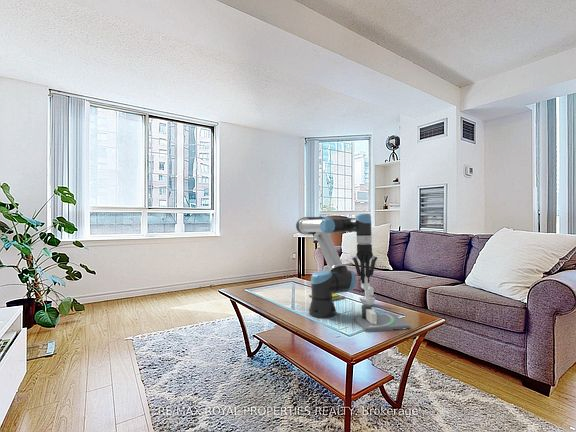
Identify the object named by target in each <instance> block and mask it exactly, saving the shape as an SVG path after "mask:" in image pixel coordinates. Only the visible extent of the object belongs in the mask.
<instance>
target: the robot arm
mask: <svg viewBox="0 0 576 432" xmlns="http://www.w3.org/2000/svg"><path fill="white" fill-rule="evenodd" d="M295 228H296V231H297V232H298V233H299V234H301V235H304V236H305V235H307V236H308V235H310V236H311V235H312V236H313V239H314V240H316V241H317V243H318V246H319V248H320V250H321V252H322V255H323V257H324V260H325V262H326V264H327V267H328V270H327V269H326V270H318V271H315V272H313V273H312V274H311V276H310V277H311V278H310V283H311V285H310V286H311V294H312V297H311V302H310V305H309V307H308V314H309V316H311V315H312V316H311V317H315V318H333V317H334V316H336V315H337V309H336V305H335V303H334V300H333V299H332V294H333V293H335V294H340V293H341V294H342V293H347V292H351V291H354V289H355V288H356V284H357V279H356V278H357V277H356V274H357V276H358V277H360V283H361V282H362V283H363V289H362V290H364V291H365V290H368V283H370V278H371V277H372V276H374V272H375V271H374V270H375V266H376V261H377V260H378V256H375V255H374V253H373V244H372V243H373V238H372V237H373V236H372V216H371V214H370V213H357V214H356V215H355V217H341V218H339V217H337V218H332V217H331V218H328V217H326V216H321V215H319V216H304V217H300V218H299V219H298V220H297V221H296V223H295ZM331 233H332V234H333V233H334V234H335V233H356V243H357V244H356V254H355V256H353V257H352V258H351V260H352V261H353V263H354V267H355V271H356V274H355V272H354V271H353V270H349V269H348V267H347V265H345V264H343V262H342V260H341V258H340V255H339V253H338V251H337V249H336V246H335V243H334V242H333V240H332V238H331ZM358 260H359V261H358ZM370 261H371V262H370ZM359 262H360V265H359Z"/></svg>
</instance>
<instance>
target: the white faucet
mask: <svg viewBox="0 0 576 432" xmlns="http://www.w3.org/2000/svg"><path fill="white" fill-rule="evenodd" d="M360 288H361V289H362V290H364V289H363V283H362V282H361V281H360ZM374 295H375V294H374V287H373V286H371V284H370V282H369V283H368V290H364V296H362V297H359V298H358V299H359V301H360V302H361V304H362V305H365V304H367V305H371V306H372V305H374V303H375V301H376V300H377V299H376V298H374V297H373V296H374Z"/></svg>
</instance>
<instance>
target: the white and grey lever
mask: <svg viewBox="0 0 576 432" xmlns="http://www.w3.org/2000/svg"><path fill="white" fill-rule="evenodd" d="M377 315H378V314H377V313H376V312H375V311H374V310H373V306H372V305H367V304H365V305H364V304H362V305H361V316H362V318H364V319H367V320H368V321H369V322H370V323H371V324H375V325H376V324H377Z"/></svg>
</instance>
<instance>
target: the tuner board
mask: <svg viewBox="0 0 576 432" xmlns="http://www.w3.org/2000/svg"><path fill="white" fill-rule="evenodd" d="M352 318H353V319H352V320H354V321H355V322H356V324H357V325H358V326H359V327H361V329H362V330H363V331H364V332H366V333H367V332H377V331H379V332H381V331H394V330H393V329H399V330H404V329H403V328H410V329H411V325H410V324H409V323H407V322H406V321H404V320H403V319H401V318H400V317H398V316H397V315H396V314H394V313H388V314H387V313H386V314H377V324H376V325H375V324H371V323H370V322H369V321H368V320H367V319H364V318H362V315H354V316H352Z"/></svg>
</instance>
